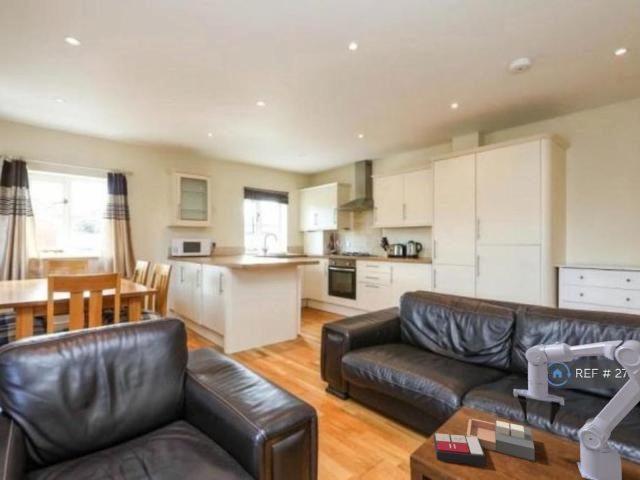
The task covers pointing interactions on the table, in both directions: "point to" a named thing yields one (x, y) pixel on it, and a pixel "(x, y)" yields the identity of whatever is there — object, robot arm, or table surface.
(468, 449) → the calculator
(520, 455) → the grey rectangular block
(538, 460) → the table surface
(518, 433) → the tile
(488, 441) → the box
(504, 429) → the tile
